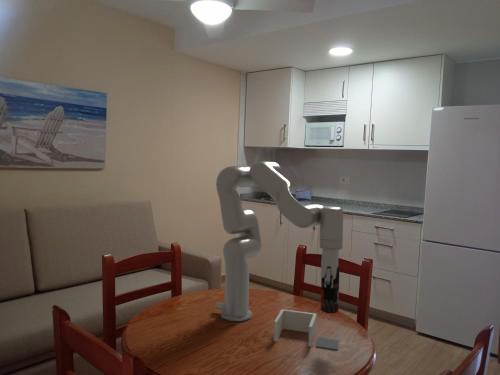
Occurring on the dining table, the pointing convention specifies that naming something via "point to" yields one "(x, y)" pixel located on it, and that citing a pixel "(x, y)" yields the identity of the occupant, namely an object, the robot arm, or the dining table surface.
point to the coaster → (327, 343)
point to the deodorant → (333, 305)
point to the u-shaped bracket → (295, 323)
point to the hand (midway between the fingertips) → (329, 295)
